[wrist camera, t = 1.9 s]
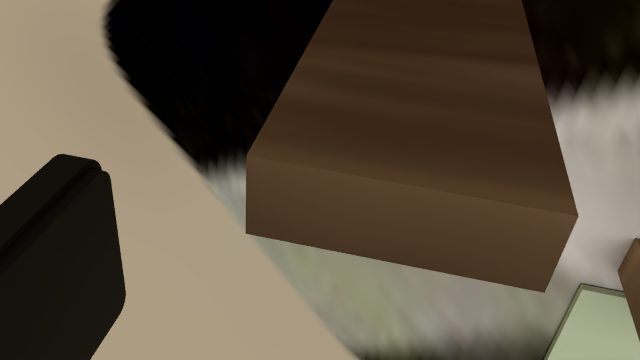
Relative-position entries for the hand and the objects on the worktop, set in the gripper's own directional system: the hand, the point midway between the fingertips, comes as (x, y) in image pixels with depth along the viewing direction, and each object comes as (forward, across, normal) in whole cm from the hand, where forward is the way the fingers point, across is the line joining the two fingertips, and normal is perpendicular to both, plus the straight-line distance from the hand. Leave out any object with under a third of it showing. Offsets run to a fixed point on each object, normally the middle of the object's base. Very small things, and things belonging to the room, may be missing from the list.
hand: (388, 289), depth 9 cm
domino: (+11, 0, -1) cm, 11 cm away
